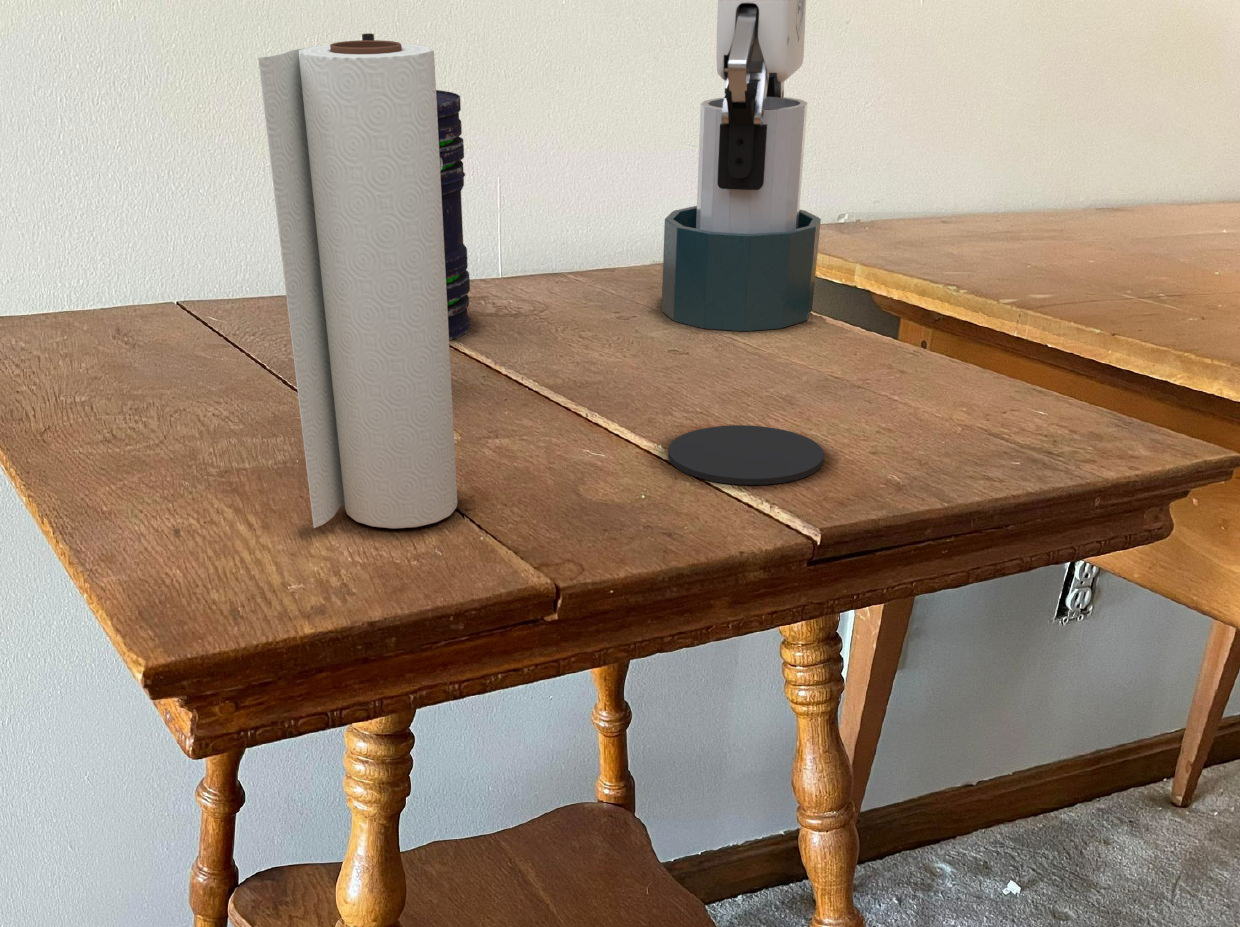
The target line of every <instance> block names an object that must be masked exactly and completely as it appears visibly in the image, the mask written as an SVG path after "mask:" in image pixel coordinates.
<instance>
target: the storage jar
mask: <svg viewBox="0 0 1240 927" xmlns="http://www.w3.org/2000/svg"><path fill="white" fill-rule="evenodd" d="M436 99H437V118H438V137H439V156H440V157H441V159H442V170H441V171H440V176H441V195H442V215H443V234H444V253H445V272H446V292H447V311H448V330H449V341H451V340H455V339H457V338H460V337H462V336H464V335H466V334H467V333H468V332H469V331H470V329H471V318H470V316H469V314H468V307H469V306H470V297H469V295H468V294H469V292H470V291H471V287H470V286H471V285H470V283H471V282H470V272H469V271H468V270H467V269H468V268H469V267H468V264H469V263H468V248H467V246H466V245H465V243H464V230H463V209H462V208H463V206H462V190H463V188H464V186H465V178H464V177H466V173H465V171H464V162H463V159H464V158H465V146H464V142H465V141H464V138H463V137H462V133H463V132H462V130H463V129H462V128H463V127H462V119H460V112H461V110H462V107H461V106H462V105H461V95H460V94H458V93H456V92H452V91H448V90H441V89H436Z"/></svg>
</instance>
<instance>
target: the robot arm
mask: <svg viewBox="0 0 1240 927" xmlns="http://www.w3.org/2000/svg"><path fill="white" fill-rule="evenodd" d="M806 9H807V0H717V17H716V73H717V75H718V76H719V77H720V78H721V79H722V80H723V81H724V82H725V84H724V85H725V86H724V92H723V98H724V99H723V107H722V117H721V121H722V123H721V124H720V136H719V159H718V181H717V183H718V186H719V188H721V189H739V190H759V189H760V188H761V187H762V186H763V184H764V170H765V154H766V138H767V124H763V118H764V110H765V103H766V96H774V97H785V96H784V95H785V81H787V80H788V79H789V78H790V77H791V76H793V74H795V73H796V72H797V71H799V69H800V68H801V67H802V66H803V63H804V57H805V36H806V35H805V34H806ZM755 96H756V101H755Z"/></svg>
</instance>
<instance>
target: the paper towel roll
mask: <svg viewBox="0 0 1240 927" xmlns="http://www.w3.org/2000/svg"><path fill="white" fill-rule="evenodd" d="M257 59H258V67H259V75H260V76H259V77H260V84H261V85H260V86H261V92H262V101H263V109H264V118H265V127H266V135H267V144H268V151H269V161H270V169H271V170H270V171H271V178H272V186H273V195H274V203H275V211H276V221H277V229H278V237H279V238H278V239H279V246H280V254H281V262H282V271H283V279H284V289H285V298H286V304H287V305H286V306H287V315H288V321H289V331H290V340H291V348H292V355H293V356H292V358H293V365H294V373H295V381H296V389H297V390H296V391H297V400H298V406H299V415H300V424H301V432H302V440H303V449H304V457H305V458H304V459H305V466H306V475H307V484H308V491H309V492H308V493H309V500H310V510H311V517H312V526H313V527H312V528H313V529H316V528H318V527H321V526H323V525H324V524H326V523H328V522H329V521H330V520H331V519H333V518H334V517H335V516H336V514H337V512H338V511H339V510H340V509H341V507H343V506H344V509H345V512H346V515H347V516H348V517H349V518H351V519H352V520H354V521H355V522H357V523H360V524H364V525H366V526H369V527H374V528H375V527H376V528H384V529H385V528H386V529H406V528H418V527H423V526H427V525H431V524H436V523H438V522H440V521H442V520H444V519H446V518H448V517H450V516H451V515H452V514H453V513H454V511H455V510H456V509H457V507H458V487H457V469H456V468H457V467H456V466H457V465H456V449H455V447H456V446H455V430H454V429H455V428H454V410H453V409H454V408H453V390H452V389H453V388H452V372H451V369H452V368H451V353H450V350H451V349H450V340H449V330H448V311H447V292H446V272H445V253H444V234H443V215H442V195H441V176H440V157H439V137H438V118H437V99H436V90H437V83H436V82H437V81H436V63H435V62H436V61H435V52H434V48H433V47H432V46H427V45H421V44H414V43H411V44H410V43H401V42H399V41H394V40H381V39H380V40H377V39H376V40H375V39H374V40H345V41H337V42H333V43H330V44H323V45H317V46H316V45H315V46H309V47H302V48H295V49H291V50H287V51H285V52H282V53H279V54H275V55H273V54H272V55H270V56H269V55H268V56H260V57H258V58H257Z"/></svg>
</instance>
